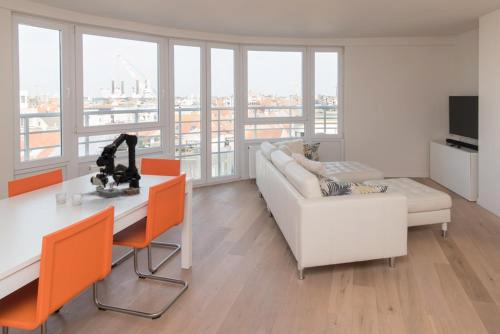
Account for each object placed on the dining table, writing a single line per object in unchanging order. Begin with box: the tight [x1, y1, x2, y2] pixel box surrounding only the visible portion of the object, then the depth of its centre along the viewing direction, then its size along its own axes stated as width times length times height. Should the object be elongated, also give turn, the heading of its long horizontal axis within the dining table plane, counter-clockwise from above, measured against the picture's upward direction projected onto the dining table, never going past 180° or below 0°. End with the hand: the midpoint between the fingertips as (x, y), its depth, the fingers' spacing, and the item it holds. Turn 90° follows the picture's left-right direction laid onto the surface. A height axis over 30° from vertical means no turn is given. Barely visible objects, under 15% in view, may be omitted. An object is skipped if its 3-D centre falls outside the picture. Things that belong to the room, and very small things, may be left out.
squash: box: [111, 163, 129, 183], centre depth 344 cm, size 14×15×15 cm
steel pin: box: [108, 182, 114, 191], centre depth 297 cm, size 2×2×8 cm
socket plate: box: [97, 187, 126, 199], centre depth 298 cm, size 12×14×3 cm
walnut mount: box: [120, 187, 140, 196], centre depth 302 cm, size 9×10×3 cm
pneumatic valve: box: [89, 174, 109, 192], centre depth 310 cm, size 6×12×12 cm, turn 84°
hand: (111, 187), depth 297 cm, fingers open, 9 cm apart
